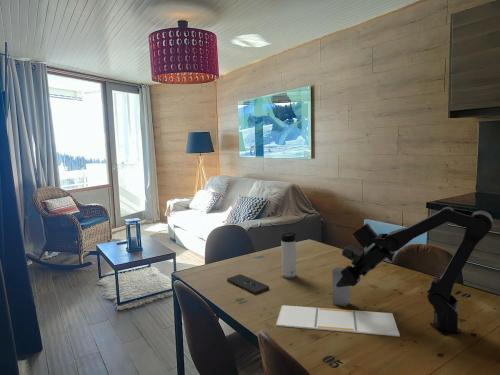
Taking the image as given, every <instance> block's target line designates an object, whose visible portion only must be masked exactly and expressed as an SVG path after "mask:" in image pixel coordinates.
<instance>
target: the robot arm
mask: <svg viewBox="0 0 500 375" xmlns="http://www.w3.org/2000/svg"><path fill="white" fill-rule="evenodd" d="M446 223H451V224H454V225H456V226H459V227H462V228H465V232H464V235H463V238H462V239H461V240H460V243H459V244H458V246H457V248H456V250H455V252H454V254H453V256H452V258H451V260H450V261H449V263H448V265H447V267H446V269H445V270H444V272H443V273H442V275H441V276H440V277H439V276H437V275H435V276H434V277H433V279H432V282H431V283H430V284H429V286H428V288H427V290H426V293H428V294H427V300H428V303H429V304H430V305H431V306H432V308H433V309H434V310H433V322H430V323H429V325H430V326H431V327H432V328H433V329H434V330H436V331H438V332H439V333H440V334H442V335H447V336H448V335H453V334H454V335H455V334H462V333H463V330H461V329H460V328H458V325H459V324H458V323H459V322H458V321H459V320H458V319H459V314H458V313H457V312H458V311H457V308H458V304H459V299H457V298H456V297H455V296H454V295H453V294H452V293H453V288H454V286H455V283H456V281H457V279H458V277H459V276H460V275H461V272H462V271H463V269H464V267H465V265H466V264H467V262H468V260H469V258H470V257H471V255H472V254H473V251H474V249H475V248H476V246H477V245H478V244H479V243H480V242H481V241H482V240H483V239H484V238H485V237H486V236H487V234H488V233H489V232H490V231H491V230H492V228H493V223H494V222H493V217H492V214H490V213H489V212H487V211H485V210H477V211H472V210H468V209H460V208H456V207H451V206H446V207H445V206H444V207H442V209H440V210H438V211H437V212H435V213H433V214H431V215H429V216H428V217H427V216H426V217H425V218H424V219H421V220H419V221H418V222H415V223H414V224H412V225H410V226H407V227H403V228H398V229H395V230H392V231H390V232H388V233H379V234H377V232H375V230H374V229H372V227H371V226H370V224H369V223H365V224H364V225H362V226H361V227H359V228H358V229H357V230H356V231H354V232H353V233H352V234H351V236H352V237H353V238H354V240H356V241H357V243H358V244H359V245H360V246H361V248H364V249H365V248H367V249H368V248H369V249H368V250H366V251H364V252H362V251H361V250H359V249H358V248H357V247H355V246H353V245H352V244H346V246H345V247H344V249H343V250H342V252H341V255H342V256H343V257H345V258H346V259H348V260H349V261H352V262H351V264H352V266H351V265H347V266H345V267H343V268H344V269H343V270H342V271H341V274H342V277H341V279H340V280H339V281H338V283H337V284H336V286H337V287H344V286H350V287H355V286H356V285H357V284H358V283H359V282H361V276H363V277H364V276H366V275H368V273H370V271H373V270H374V269H375V268H376V267H377V266H379V264H381V263H382V262H383V261H385V260H387V259H388V261H389V262H390V263H393V262H394V261H395V259H396V257H395V255H396V252H398V251H399V250H401V249H402V248H403V247H405V246H406V245H407V244H409V242H411V241H412V240H413V239H416V238H417V237H419V236H421V235H424V234H426V233H428V232H430V231H432V230H434V229H436V228H439V227H440V226H442V225H444V224H446ZM372 245H373V246H372ZM370 246H371V247H370Z"/></svg>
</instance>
